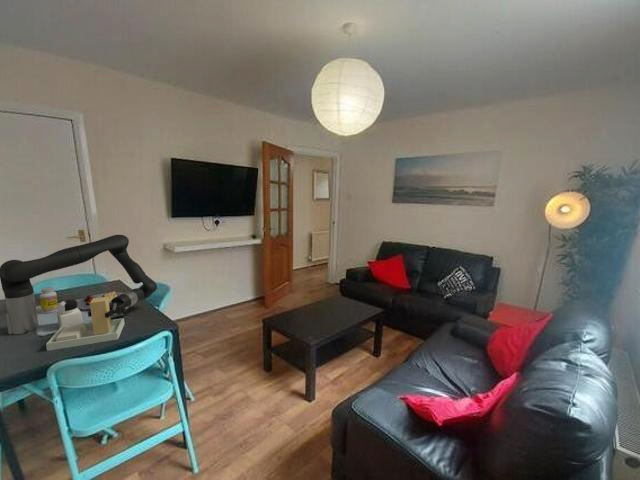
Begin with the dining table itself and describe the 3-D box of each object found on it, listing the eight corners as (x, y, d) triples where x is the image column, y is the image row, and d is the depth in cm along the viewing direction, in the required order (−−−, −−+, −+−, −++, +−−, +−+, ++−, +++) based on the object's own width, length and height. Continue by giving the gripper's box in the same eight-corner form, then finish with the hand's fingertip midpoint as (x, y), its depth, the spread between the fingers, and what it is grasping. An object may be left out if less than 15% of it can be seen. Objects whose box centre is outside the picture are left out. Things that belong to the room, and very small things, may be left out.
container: (79, 321, 145) (76, 297, 142) (83, 326, 140) (80, 301, 138) (58, 327, 139) (55, 301, 137) (62, 332, 134) (58, 306, 132)
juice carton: (94, 334, 128) (89, 302, 125) (97, 329, 133) (93, 298, 130) (109, 332, 130) (105, 301, 128) (111, 327, 135) (108, 296, 132)
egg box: (56, 347, 120) (55, 338, 120) (67, 333, 131) (66, 325, 130) (78, 343, 123) (76, 335, 122) (86, 331, 134) (85, 323, 133)
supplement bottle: (48, 314, 152) (44, 291, 150) (38, 312, 153) (34, 289, 151) (61, 309, 158) (58, 286, 156) (52, 308, 160) (49, 285, 158)
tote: (47, 353, 118) (46, 343, 117) (62, 334, 132) (61, 326, 131) (118, 341, 128) (117, 333, 127) (124, 325, 142) (123, 318, 141)
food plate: (77, 300, 171) (76, 294, 170) (124, 292, 186) (123, 287, 185) (78, 316, 152) (77, 309, 152) (130, 305, 167) (130, 300, 167)
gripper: (110, 293, 144) (81, 306, 128) (137, 294, 143) (111, 308, 127) (112, 307, 145) (83, 322, 129) (139, 308, 144) (113, 324, 128)
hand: (97, 315), depth 128 cm, fingers closed on juice carton, 7 cm apart
